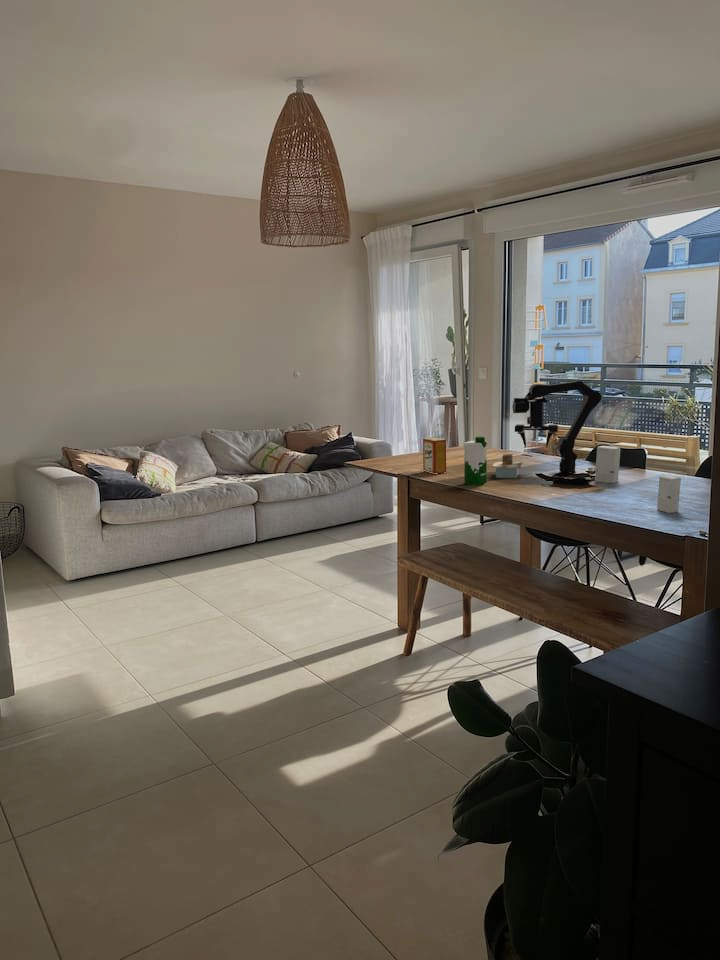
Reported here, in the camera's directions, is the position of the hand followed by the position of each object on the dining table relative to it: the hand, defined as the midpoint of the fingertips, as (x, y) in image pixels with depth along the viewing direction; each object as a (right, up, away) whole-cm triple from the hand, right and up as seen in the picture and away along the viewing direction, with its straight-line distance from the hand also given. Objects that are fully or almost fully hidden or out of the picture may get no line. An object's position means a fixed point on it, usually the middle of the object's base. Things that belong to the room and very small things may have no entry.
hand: (536, 447), depth 338 cm
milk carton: (-30, -16, -16) cm, 37 cm away
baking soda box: (-44, -11, +14) cm, 48 cm away
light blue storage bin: (-14, -13, -3) cm, 19 cm away
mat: (-4, -16, -17) cm, 23 cm away
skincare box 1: (+25, -16, -21) cm, 36 cm away
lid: (-14, -8, -4) cm, 17 cm away
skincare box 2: (+28, -26, -76) cm, 85 cm away
